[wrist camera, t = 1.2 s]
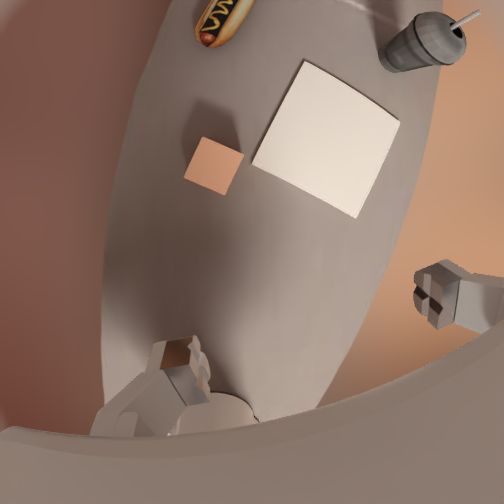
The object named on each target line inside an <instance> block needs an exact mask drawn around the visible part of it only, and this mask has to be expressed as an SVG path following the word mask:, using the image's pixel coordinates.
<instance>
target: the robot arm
mask: <svg viewBox="0 0 504 504" xmlns="http://www.w3.org/2000/svg"><path fill="white" fill-rule="evenodd" d="M414 283H415V284H416V285H417V286H416V288H415V290H414V292H413V293H414V294H413V300H414V304H415V307H416V309H417V310H418V311H419V312H420V313H421V314H422V315H425V316H428V322H430V323H431V324H432V325H433V326H434V327H435V328H436V329H437V330H438V329H440V328H443V327H445V326H447V325H449V324H451V323H453V322H454V323H455V324H457V325H460V326H463V327H465V328H468V329H471V330H473V331H476V332H478V333H481V335H479V336H478V337H476V338H474V339H473V340H471V341H470V342H468V343H466V344H465V345H463V346H461V347H459V348H458V349H456V350H454V351H452V352H451V353H449V354H447V355H445V356H443V357H441V358H439V359H438V360H436V361H434V362H432V363H430V364H428V365H426V366H424V367H422V368H420V369H418V370H415V371H413V372H411V373H409V374H407V375H405V376H402V377H400V378H398V379H396V380H393V381H391V382H389V383H386V384H384V385H381V386H379V387H377V388H374V389H371V390H369V391H366V392H364V393H361V394H358V395H356V396H353V397H350V398H347V399H344V400H341V401H338V402H335V403H332V404H329V405H326V406H323V407H319V408H316V409H313V410H309V411H306V412H302V413H298V414H295V415H291V416H287V417H283V418H279V419H274V420H270V421H265V422H261V423H259V422H258V421H257V420H256V419H255V418H254V416H253V412H252V409H251V408H250V406H249V405H248V404H247V403H246V402H244V401H243V400H241V399H239V398H237V397H235V396H232V395H228V394H223V393H210V387H209V385H208V383H207V382H208V381H209V380H210V367H209V363H208V360H207V357H206V355H205V354H204V353H203V352H201V351H200V345H201V344H200V342H199V340H198V338H197V337H196V336H195V335H192V336H187V337H182V338H176V339H170V340H165V341H160V342H156V343H154V344H153V347H152V351H151V354H150V357H149V360H148V363H147V367H146V370H145V372H142V373H140V374H139V375H138V376H137V377H136V378H135V379H134V380H133V381H131V382H130V383H129V384H128V385H127V386H126V387H125V388H124V389H123V390H122V391H120V392H119V393H118V394H117V395H116V396H115V397H114V398H113V399H112V400H110V401H109V402H108V403H107V404H106V405H105V406H104V407H103V408H102V409H100V410H99V411H98V413H97V415H96V418H95V421H94V424H93V426H92V429H91V432H90V435H89V436H82V435H71V434H61V433H53V432H45V431H38V430H33V429H27V428H23V427H16V426H14V427H9V428H8V429H6V430H4V431H2V432H1V433H0V504H504V278H502V277H496V276H490V275H483V274H477V273H473V274H470V273H469V272H467V271H466V270H464V269H463V268H461V267H459V266H458V265H456V264H455V263H453V262H451V261H450V260H448V259H444V260H442V261H440V262H437V263H435V264H433V265H431V266H428V267H426V268H423V269H421V270H419V271H416V272H415V274H414Z"/></svg>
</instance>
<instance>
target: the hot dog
mask: <svg viewBox="0 0 504 504" xmlns="http://www.w3.org/2000/svg"><path fill="white" fill-rule="evenodd" d="M254 2H255V0H211V2H210V3H209V5H208V6H207V8H206V10H205V11H204V13H203V14H202V16H201V18H200V20H199V21H198V23H197V25H196V28H195V30H194V33H195V37H196V40H197V41H198V42H199V43H201V44H203V45H204V46H206V47H218V46H221V45H223V44H224V43H226V42H227V41H229V40H230V39H231V38H232V37H233V35H234V34H235V32H236V31H237V30H238V28H239V27H240V26H241V25H242V23H243V22H244V20H245V18H246V17H247V15H248V13H249V12H250V10H251V8H252V7H253V5H254Z"/></svg>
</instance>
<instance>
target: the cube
mask: <svg viewBox="0 0 504 504" xmlns="http://www.w3.org/2000/svg"><path fill="white" fill-rule="evenodd" d="M243 156H244V154H241V153H239V152H237V151H235V150H233V149H230V148H228V147H226V146H224V145H221V144H219V143H217V142H214V141H212V140H210V139H207V138H205V137H202V139H201V141H200V143H199V145H198V147H197V149H196V151H195V153H194V156H193V158H192V160H191V162H190V164H189V166H188V169H187V171H186V173H185V175H184V178H185V179H188V180H190V181H192V182H195V183H197V184H199V185H201V186H204V187H206V188H208V189H211V190H213V191H215V192H217V193H220V194H222V195H224V196H225V194H226V192H227V190H228V188H229V185H230V183H231V181H232V179H233V177H234V175H235V173H236V171H237V169H238V167H239V165H240V163H241V160H242V158H243Z"/></svg>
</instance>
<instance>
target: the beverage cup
mask: <svg viewBox="0 0 504 504" xmlns="http://www.w3.org/2000/svg"><path fill="white" fill-rule="evenodd" d="M480 14H481V11H480V10H476V11H475V12H473V13H471V14H470V15H468V16H466V17H464V18H463V19H461V20H459V21H457V22H456V21H455V20H454V19H452V18H450V17H449V16H447V15H445V14H443V13H439V12H425V13H421V14H418V15H416V16H415V17H414V19H413V20H412V21H411V22H410V23H409V25H408V26H407V27H406V28H405V29H404V30H402V31H401V32H400V33H399V34H397V35H396V36H395V37H394V38H393V39H391V40H390V41H389V42H388V43H387V44H385V45H384V47H383V48H381V49H380V51H379V60H380V62H381V64H382V65H383V66H384V68H385V69H387V70H388V71H390V72H392V73H398V72H404V71H409V70H413V69H418V68H422V67H427V66H432V65H451V64H453V63H455V62H456V61H458V60H459V59H460V58H461V57H462V56H463V54H464V53H465V50H466V37H465V34H464V32H463V30H462V29H461V27H460V25H462V24H464V23H465V22H467V21H469V20H470V19H472V18H474V17H476V16H477V15H480Z"/></svg>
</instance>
